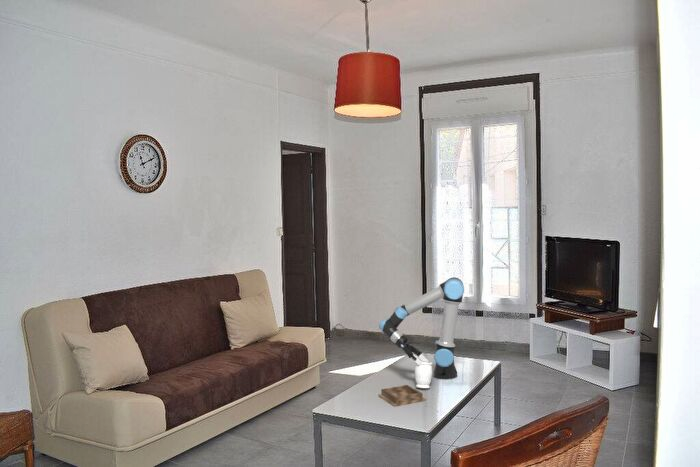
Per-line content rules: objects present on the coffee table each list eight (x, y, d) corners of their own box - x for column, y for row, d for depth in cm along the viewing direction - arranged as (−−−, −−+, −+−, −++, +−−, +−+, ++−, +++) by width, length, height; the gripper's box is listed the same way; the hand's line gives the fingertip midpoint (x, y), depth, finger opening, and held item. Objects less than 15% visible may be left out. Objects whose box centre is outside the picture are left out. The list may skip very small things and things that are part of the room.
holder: (408, 390, 324) (408, 383, 324) (426, 400, 306) (425, 393, 306) (378, 396, 317) (378, 389, 317) (394, 406, 298) (393, 399, 298)
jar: (429, 389, 320) (430, 363, 323) (412, 387, 324) (413, 361, 326) (433, 387, 330) (434, 362, 332) (416, 385, 334) (417, 360, 336)
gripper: (402, 343, 352) (426, 366, 342) (388, 343, 329) (413, 368, 320) (409, 334, 350) (433, 357, 341) (395, 334, 328) (421, 359, 319)
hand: (424, 363), depth 331 cm, fingers open, 13 cm apart
